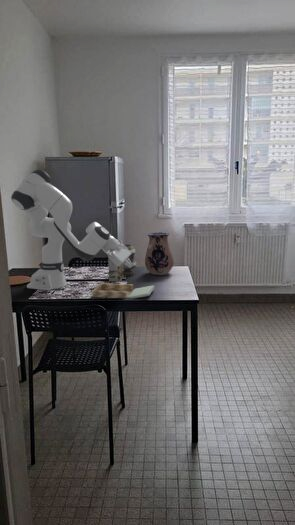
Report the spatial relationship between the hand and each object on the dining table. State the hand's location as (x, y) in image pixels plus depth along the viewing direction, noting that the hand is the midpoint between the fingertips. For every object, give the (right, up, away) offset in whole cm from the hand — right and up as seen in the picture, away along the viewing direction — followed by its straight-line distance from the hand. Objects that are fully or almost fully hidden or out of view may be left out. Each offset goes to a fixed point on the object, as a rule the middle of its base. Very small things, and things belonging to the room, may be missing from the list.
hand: (131, 266), depth 208 cm
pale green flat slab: (0, -14, +2) cm, 14 cm away
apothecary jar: (-5, -5, +46) cm, 47 cm away
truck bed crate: (-10, -15, +4) cm, 19 cm away
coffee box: (-10, -9, +30) cm, 33 cm away
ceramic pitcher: (+16, -5, +45) cm, 48 cm away
